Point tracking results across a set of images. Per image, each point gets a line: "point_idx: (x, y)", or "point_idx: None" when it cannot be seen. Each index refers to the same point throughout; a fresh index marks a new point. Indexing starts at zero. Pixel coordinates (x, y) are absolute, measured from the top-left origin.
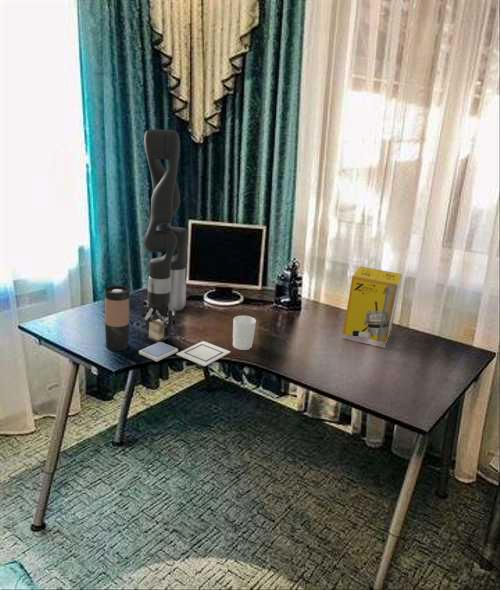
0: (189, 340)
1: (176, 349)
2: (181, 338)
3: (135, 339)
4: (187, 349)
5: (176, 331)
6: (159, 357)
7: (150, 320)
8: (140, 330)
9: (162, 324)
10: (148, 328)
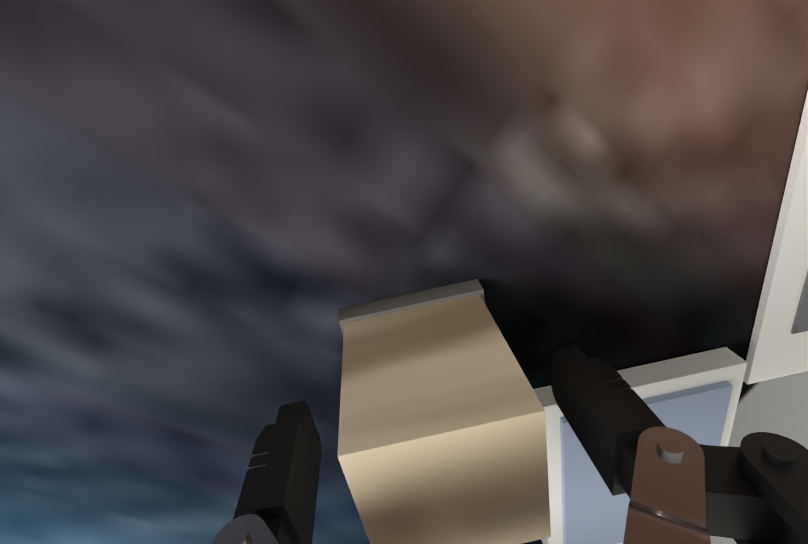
0: (674, 114)
1: (741, 376)
2: (574, 160)
3: (335, 486)
4: (788, 277)
5: (383, 80)
6: None
7: (293, 519)
8: (170, 393)
9: (538, 486)
10: (317, 452)
